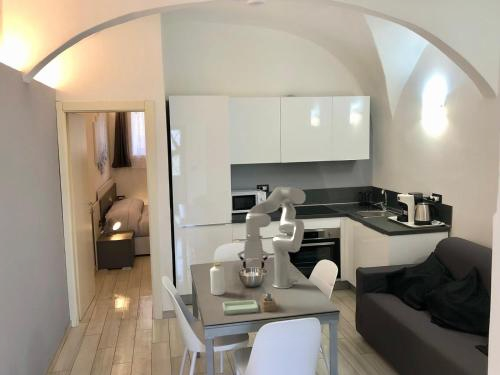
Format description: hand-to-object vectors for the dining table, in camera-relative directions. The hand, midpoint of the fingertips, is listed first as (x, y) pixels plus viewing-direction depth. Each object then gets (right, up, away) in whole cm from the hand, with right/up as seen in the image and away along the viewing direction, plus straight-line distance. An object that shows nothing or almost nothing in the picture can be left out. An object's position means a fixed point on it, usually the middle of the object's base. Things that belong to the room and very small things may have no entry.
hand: (253, 268), depth 250 cm
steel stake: (+8, -20, -9) cm, 23 cm away
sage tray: (-7, -20, -9) cm, 23 cm away
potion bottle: (-21, -18, +17) cm, 33 cm away
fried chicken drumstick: (+7, -20, -6) cm, 22 cm away
